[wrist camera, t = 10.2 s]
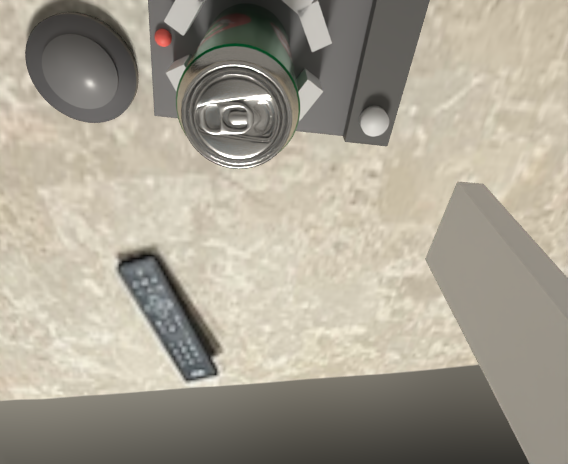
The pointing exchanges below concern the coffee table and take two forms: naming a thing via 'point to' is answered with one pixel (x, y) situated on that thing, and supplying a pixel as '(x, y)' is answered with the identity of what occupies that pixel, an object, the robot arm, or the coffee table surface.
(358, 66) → the camera body
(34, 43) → the lens cap
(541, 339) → the robot arm
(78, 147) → the coffee table surface
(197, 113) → the soda can
